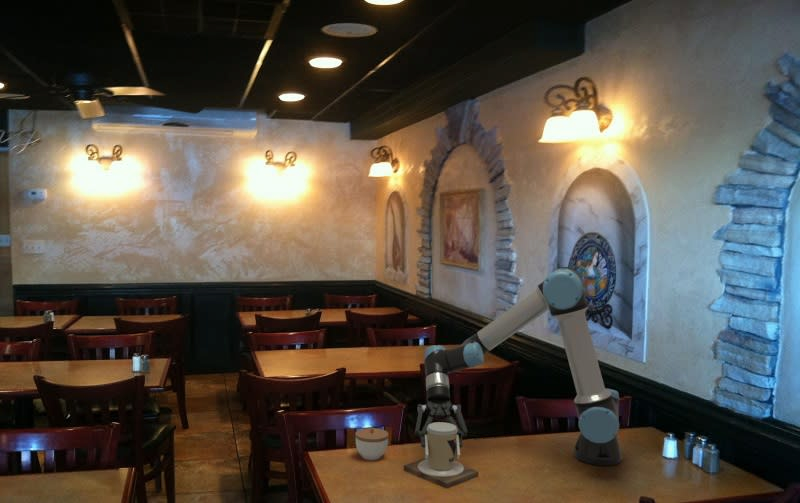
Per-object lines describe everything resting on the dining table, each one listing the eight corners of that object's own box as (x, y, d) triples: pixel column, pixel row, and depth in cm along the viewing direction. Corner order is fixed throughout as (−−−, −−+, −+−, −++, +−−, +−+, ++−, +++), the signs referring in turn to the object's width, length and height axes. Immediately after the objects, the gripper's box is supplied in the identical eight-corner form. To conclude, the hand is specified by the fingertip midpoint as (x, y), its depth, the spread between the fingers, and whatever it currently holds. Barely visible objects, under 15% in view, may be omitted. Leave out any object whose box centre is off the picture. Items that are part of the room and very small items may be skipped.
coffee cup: (454, 472, 207) (455, 432, 207) (423, 469, 209) (424, 429, 208) (458, 461, 217) (459, 423, 216) (428, 458, 218) (429, 420, 218)
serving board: (478, 476, 211) (478, 469, 211) (446, 488, 202) (446, 481, 202) (434, 459, 224) (435, 453, 224) (403, 470, 215) (403, 463, 215)
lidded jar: (394, 457, 226) (395, 428, 225) (371, 465, 218) (371, 436, 217) (371, 448, 233) (372, 421, 232) (347, 456, 225) (348, 427, 225)
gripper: (469, 396, 228) (476, 462, 213) (403, 396, 226) (405, 462, 211) (472, 384, 222) (480, 451, 207) (405, 384, 221) (407, 451, 206)
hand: (442, 456), depth 209 cm, fingers closed on coffee cup, 9 cm apart
